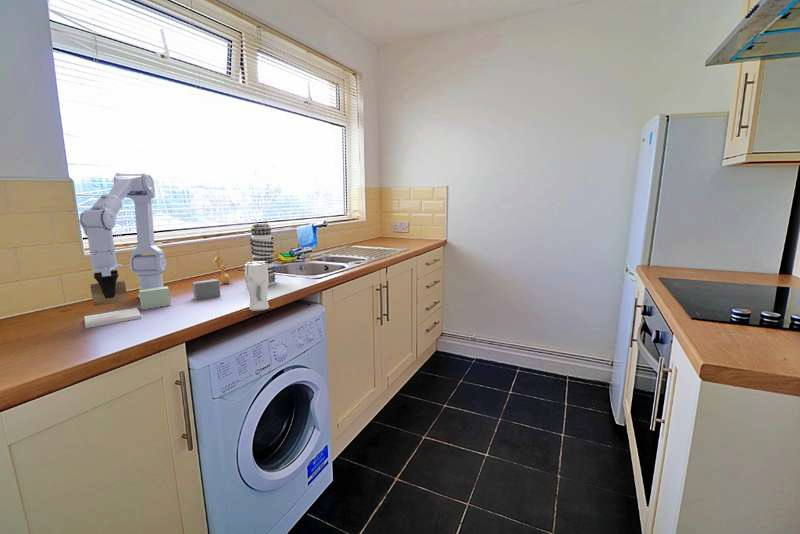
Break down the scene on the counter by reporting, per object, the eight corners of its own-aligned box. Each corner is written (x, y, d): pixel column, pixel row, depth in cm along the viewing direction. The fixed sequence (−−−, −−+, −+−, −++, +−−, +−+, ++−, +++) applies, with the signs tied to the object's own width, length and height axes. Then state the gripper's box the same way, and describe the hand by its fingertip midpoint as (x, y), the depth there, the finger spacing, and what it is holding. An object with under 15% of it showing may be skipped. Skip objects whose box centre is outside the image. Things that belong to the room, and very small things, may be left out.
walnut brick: (93, 303, 111) (90, 284, 110) (126, 299, 116) (124, 280, 115) (93, 306, 108) (90, 286, 107) (127, 301, 113) (124, 282, 112)
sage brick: (141, 307, 125) (138, 290, 124) (169, 303, 130) (166, 286, 129) (142, 310, 122) (140, 292, 121) (170, 305, 127) (168, 288, 126)
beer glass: (264, 304, 127) (261, 260, 125) (274, 308, 122) (271, 263, 120) (244, 308, 123) (240, 263, 120) (253, 313, 118) (249, 266, 115)
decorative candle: (261, 280, 163) (256, 222, 158) (280, 281, 161) (276, 222, 156) (248, 285, 154) (243, 224, 149) (269, 286, 152) (264, 224, 148)
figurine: (225, 285, 154) (222, 256, 152) (211, 285, 154) (208, 256, 152) (235, 281, 162) (232, 253, 160) (222, 281, 162) (219, 253, 160)
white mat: (84, 319, 113) (84, 316, 113) (137, 310, 121) (136, 307, 121) (85, 328, 105) (85, 324, 105) (141, 318, 114) (140, 315, 113)
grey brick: (194, 298, 136) (192, 282, 135) (217, 294, 141) (216, 278, 140) (196, 300, 133) (194, 283, 132) (220, 296, 138) (218, 280, 137)
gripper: (121, 252, 106) (127, 298, 109) (118, 247, 117) (124, 289, 120) (88, 255, 102) (96, 303, 104) (89, 249, 113) (96, 293, 115)
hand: (109, 296), depth 112 cm, fingers closed on walnut brick, 3 cm apart
